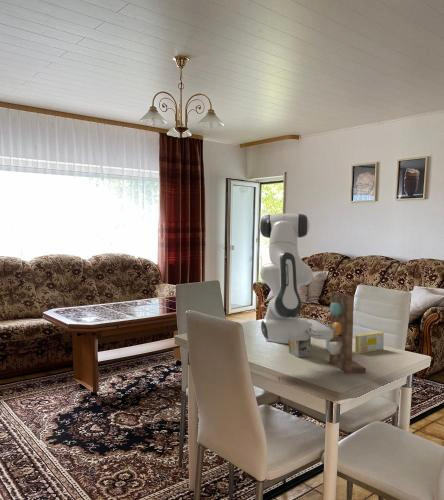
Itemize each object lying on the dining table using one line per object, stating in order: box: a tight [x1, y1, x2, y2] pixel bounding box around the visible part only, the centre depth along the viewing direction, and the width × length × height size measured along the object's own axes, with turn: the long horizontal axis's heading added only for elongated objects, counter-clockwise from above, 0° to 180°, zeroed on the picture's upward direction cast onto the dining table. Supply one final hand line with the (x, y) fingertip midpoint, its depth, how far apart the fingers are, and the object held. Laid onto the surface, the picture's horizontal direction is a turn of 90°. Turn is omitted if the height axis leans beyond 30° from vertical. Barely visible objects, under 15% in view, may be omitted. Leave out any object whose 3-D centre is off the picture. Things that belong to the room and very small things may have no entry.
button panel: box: [328, 290, 367, 375], centre depth 175 cm, size 16×8×30 cm, turn 10°
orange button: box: [332, 322, 342, 335], centre depth 174 cm, size 5×4×5 cm
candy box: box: [354, 331, 385, 354], centre depth 201 cm, size 16×2×8 cm, turn 116°
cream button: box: [328, 342, 341, 355], centre depth 175 cm, size 5×4×5 cm
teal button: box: [329, 302, 343, 315], centre depth 174 cm, size 5×4×5 cm
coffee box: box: [288, 316, 312, 358], centre depth 193 cm, size 9×6×16 cm
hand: (334, 328), depth 174 cm, fingers closed, pressing on orange button
